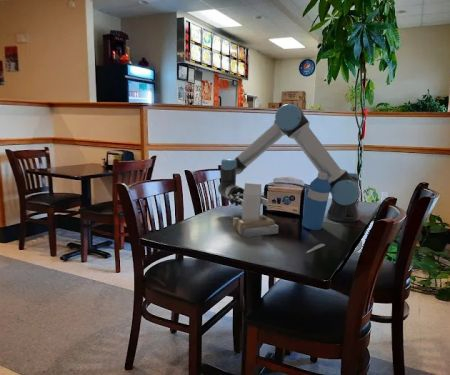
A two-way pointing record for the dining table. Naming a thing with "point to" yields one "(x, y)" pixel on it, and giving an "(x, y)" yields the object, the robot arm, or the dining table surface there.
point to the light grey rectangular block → (251, 202)
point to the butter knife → (316, 247)
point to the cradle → (251, 223)
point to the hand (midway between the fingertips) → (256, 203)
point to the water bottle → (316, 202)
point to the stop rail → (259, 230)
